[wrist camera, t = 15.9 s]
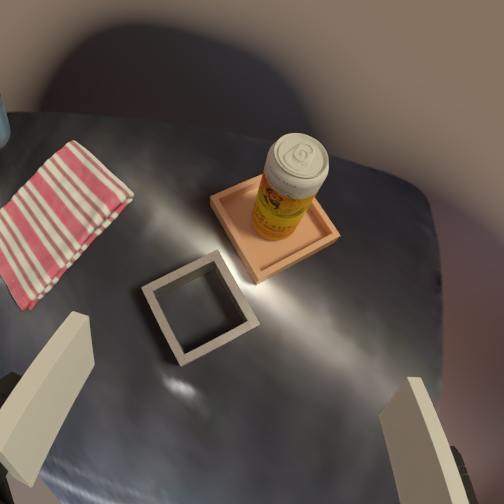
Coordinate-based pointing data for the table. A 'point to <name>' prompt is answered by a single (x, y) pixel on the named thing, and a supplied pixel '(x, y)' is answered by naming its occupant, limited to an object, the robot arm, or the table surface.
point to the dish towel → (56, 220)
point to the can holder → (185, 276)
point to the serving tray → (260, 248)
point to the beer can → (288, 184)
